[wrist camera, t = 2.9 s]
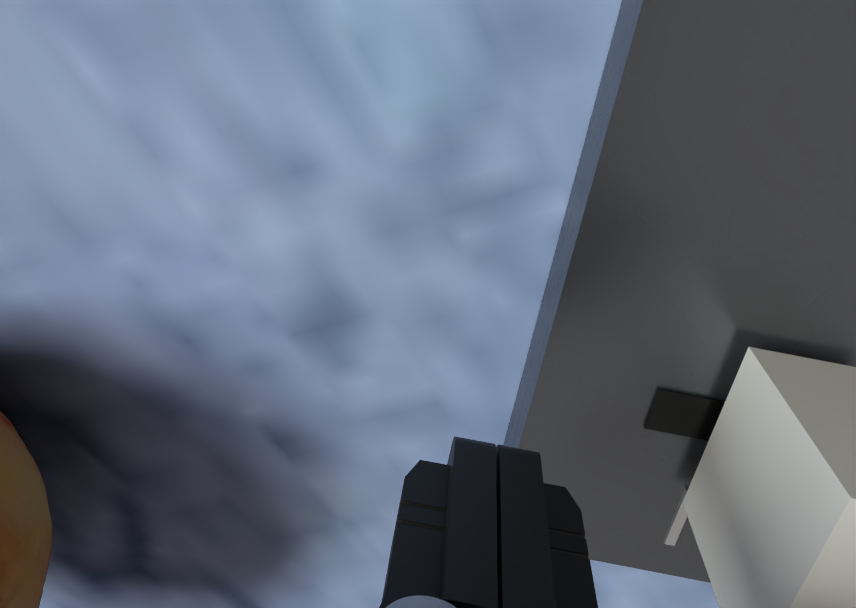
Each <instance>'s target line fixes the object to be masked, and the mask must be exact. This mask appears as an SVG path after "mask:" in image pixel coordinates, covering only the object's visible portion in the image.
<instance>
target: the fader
mask: <svg viewBox="0 0 856 608" xmlns="http://www.w3.org/2000/svg"><path fill="white" fill-rule="evenodd" d="M683 505H684V508H685V511H686V513H687V516H688V519H689V522H690V525H691V528H692V530H693V533H694V536H695V539H696V542H697V545H698V548H699V550H700V553H701V556H702V559H703V562H704V565H705V567H706V570H707V573H708V576H709V579H710V582H711V584H712V587H713V590H714V593H715V596H716V599H717V601H718V604H719V607H720V608H856V367H853V366H847V365H842V364H837V363H832V362H826V361H821V360H816V359H811V358H805V357H800V356H795V355H790V354H784V353H779V352H774V351H769V350H763V349H758V348H753V347H748V349H747V352H746V354H745V356H744V359H743V361H742V363H741V366H740V368H739V371H738V373H737V375H736V378H735V380H734V382H733V385H732V387H731V389H730V392H729V394H728V396H727V399H726V401H725V403H724V406H723V408H722V411H721V413H720V415H719V418H718V420H717V422H716V425H715V427H714V429H713V432H712V434H711V436H710V439H709V441H708V444H707V446H706V448H705V451H704V453H703V455H702V458H701V460H700V462H699V465H698V467H697V469H696V472H695V474H694V476H693V479H692V481H691V484H690V486H689V488H688V491H687V493H686V495H685V498H684V500H683Z"/></svg>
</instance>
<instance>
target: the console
mask: <svg viewBox="0 0 856 608" xmlns="http://www.w3.org/2000/svg"><path fill="white" fill-rule="evenodd" d="M748 347H753V348H758V349H763V350H769V351H774V352H779V353H784V354H790V355H795V356H800V357H805V358H811V359H816V360H821V361H826V362H832V363H837V364H842V365H847V366H853V367H856V0H622V4H621V8H620V11H619V15H618V19H617V23H616V26H615V30H614V34H613V38H612V41H611V45H610V49H609V53H608V56H607V60H606V64H605V68H604V71H603V75H602V79H601V82H600V86H599V90H598V94H597V97H596V101H595V105H594V109H593V112H592V116H591V120H590V124H589V127H588V131H587V135H586V139H585V142H584V146H583V150H582V154H581V157H580V161H579V165H578V169H577V172H576V176H575V180H574V184H573V187H572V191H571V195H570V199H569V202H568V206H567V210H566V213H565V217H564V221H563V225H562V228H561V232H560V236H559V240H558V243H557V247H556V251H555V255H554V258H553V262H552V266H551V270H550V273H549V277H548V281H547V285H546V288H545V292H544V296H543V300H542V303H541V307H540V311H539V315H538V318H537V322H536V326H535V329H534V333H533V337H532V341H531V344H530V348H529V352H528V356H527V359H526V363H525V367H524V371H523V374H522V378H521V382H520V386H519V389H518V393H517V397H516V401H515V404H514V408H513V412H512V416H511V419H510V423H509V427H508V431H507V434H506V438H505V442H504V445H503V446H509V447H514V448H519V449H525V450H530V451H535V452H539V453H540V456H541V464H542V474H543V483H546V484H552V485H557V486H562V487H566V488H567V490H568V491H569V493H570V494H571V496H572V497H573V499H574V500H575V502H576V503H577V505H578V506H579V508H580V509H581V512H582V518H583V524H584V530H585V539H586V541H587V547H588V553H589V555H588V559H591V560H596V561H601V562H606V563H612V564H617V565H622V566H627V567H632V568H638V569H643V570H648V571H653V572H658V573H663V574H669V575H674V576H679V577H684V578H689V579H694V580H700V581H705V582H710V579H709V576H708V573H707V570H706V567H705V565H704V562H703V559H702V556H701V553H700V550H699V548H698V545H697V542H696V539H695V536H694V533H693V530H692V528H691V525H690V522H689V519H688V516H687V513H686V511H685V508H684V505H683V500H684V498H685V495H686V493H687V491H688V488H689V486H690V484H691V481H692V479H693V476H694V474H695V472H696V469H697V467H698V465H699V462H700V460H701V458H702V455H703V453H704V451H705V448H706V446H707V444H708V441H709V439H710V436H711V434H712V432H713V429H714V427H715V425H716V422H717V420H718V418H719V415H720V413H721V411H722V408H723V406H724V403H725V401H726V399H727V396H728V394H729V392H730V389H731V387H732V385H733V382H734V380H735V378H736V375H737V373H738V371H739V368H740V366H741V363H742V361H743V359H744V356H745V354H746V352H747V349H748ZM710 583H711V582H710Z"/></svg>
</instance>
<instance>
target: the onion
mask: <svg viewBox="0 0 856 608" xmlns="http://www.w3.org/2000/svg"><path fill="white" fill-rule="evenodd" d="M52 538H53V531H52V521H51V516H50V511H49V506H48V500H47V494H46V488H45V485H44V482H43V479H42V476H41V474H40V471H39V469H38V467H37V465H36V462H35V460H34V459H33V457H32V456H31V454H30V453H29V451H28V449H27V447H26V446H25V444H24V442H23V440H22V439H21V438H20V436H19V435H18V433H17V432H16V430H15V428H14V426H13V425H12V423H11V422H10V420H9V419H8V418H7V417H6V416H5V415H4V414H3V413H1V412H0V608H39V605H40V601H41V597H42V592H43V587H44V582H45V578H46V574H47V570H48V565H49V560H50V555H51V549H52Z"/></svg>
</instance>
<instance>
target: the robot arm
mask: <svg viewBox="0 0 856 608" xmlns="http://www.w3.org/2000/svg"><path fill="white" fill-rule="evenodd" d="M588 555H589V553H588V547H587V541H586V539H585V530H584V524H583V518H582V512H581V509H580V508H579V506H578V505H577V503H576V502H575V500H574V499H573V497H572V496H571V494H570V493H569V491H568V490H567V488H566V487H562V486H557V485H552V484H546V483H543V474H542V464H541V456H540V453H539V452H535V451H530V450H525V449H519V448H514V447H509V446H503V445H497V447H496V445H495V444H492V443H486V442H481V441H476V440H470V439H465V438H460V437H454V439H453V442H452V446H451V451H450V455H449V460H448V464H447V465H444V464H439V463H434V462H428V461H423V460H420V461H419V462H418V463H417V464H416V465H415V466H414V467H413V469H412V470H411V471H410V472H409V473H408V474H407V475H406V476H405V479H404V484H403V489H402V495H401V500H400V505H399V510H398V515H397V521H396V526H395V531H394V536H393V541H392V547H391V553H390V558H389V564H388V570H387V575H386V581H385V587H384V592H383V598H382V603H381V605H380V607H379V608H598V605H597V599H596V594H595V588H594V582H593V576H592V570H591V564H590V559H588Z"/></svg>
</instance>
